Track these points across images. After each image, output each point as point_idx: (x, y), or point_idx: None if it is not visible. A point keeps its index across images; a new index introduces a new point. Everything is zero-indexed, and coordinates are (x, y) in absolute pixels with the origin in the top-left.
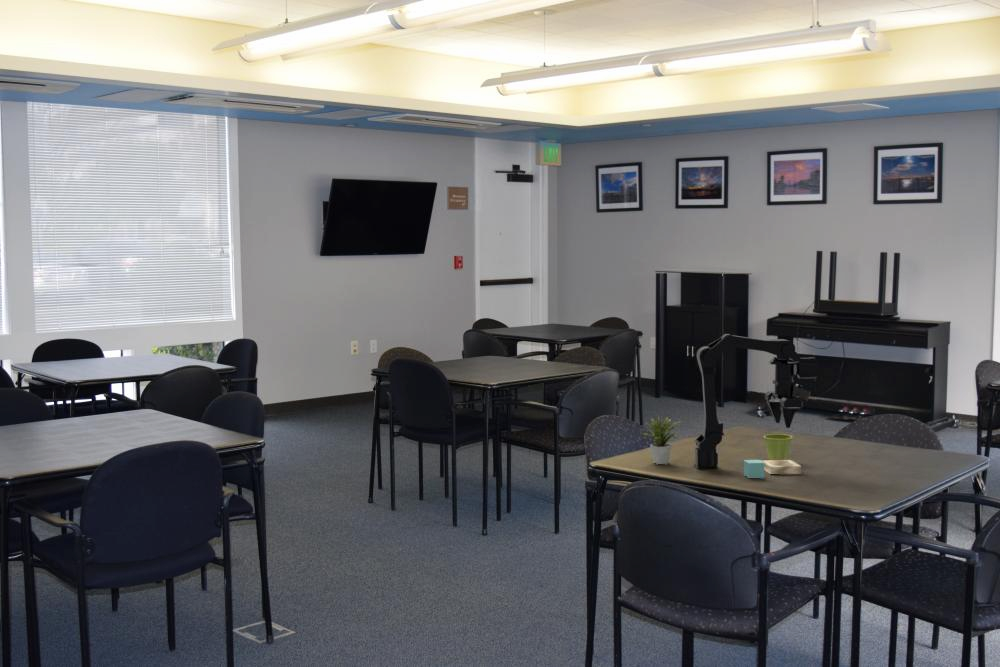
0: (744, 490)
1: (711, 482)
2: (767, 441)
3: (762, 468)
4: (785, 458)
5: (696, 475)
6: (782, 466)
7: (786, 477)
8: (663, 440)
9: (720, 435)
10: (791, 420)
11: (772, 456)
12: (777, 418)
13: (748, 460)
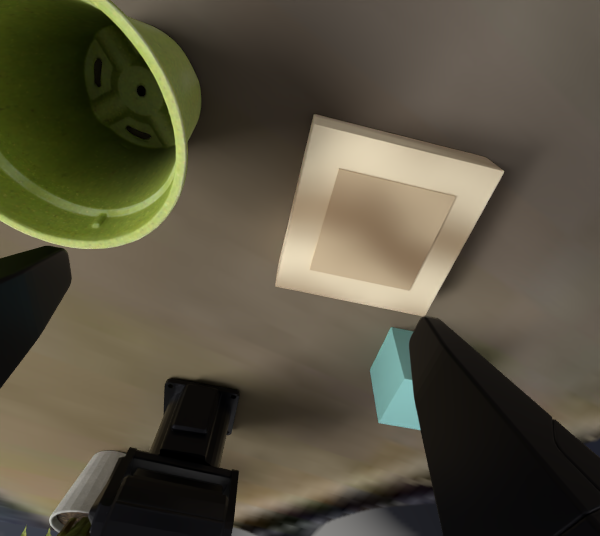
0: None
1: (406, 463)
2: (109, 224)
3: None
4: (190, 74)
5: (307, 458)
6: (447, 266)
7: (496, 262)
8: (60, 534)
9: (222, 531)
10: (511, 394)
11: (168, 160)
12: (31, 312)
13: (396, 414)
